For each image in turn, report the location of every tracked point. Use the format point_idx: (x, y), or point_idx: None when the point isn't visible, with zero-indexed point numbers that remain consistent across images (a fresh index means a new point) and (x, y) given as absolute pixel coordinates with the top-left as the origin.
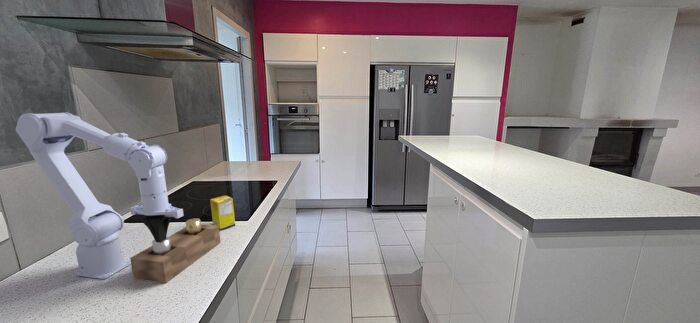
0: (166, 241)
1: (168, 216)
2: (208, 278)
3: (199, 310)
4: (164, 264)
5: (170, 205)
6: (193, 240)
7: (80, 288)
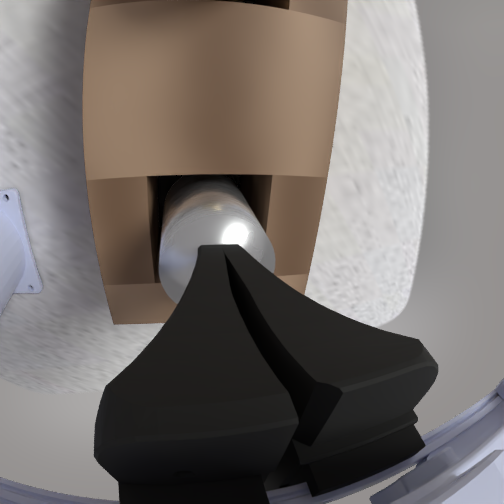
0: (273, 273)
1: (428, 438)
2: (388, 206)
3: (401, 304)
4: None
5: (495, 474)
6: (323, 82)
7: (36, 325)
